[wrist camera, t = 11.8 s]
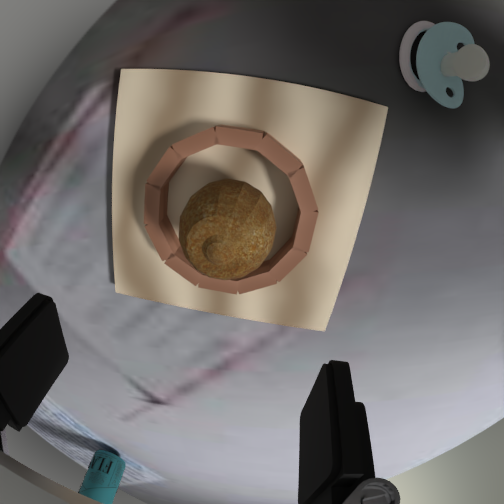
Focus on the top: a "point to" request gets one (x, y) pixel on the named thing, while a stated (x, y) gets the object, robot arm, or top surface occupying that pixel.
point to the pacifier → (442, 60)
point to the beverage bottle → (103, 477)
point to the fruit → (227, 229)
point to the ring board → (243, 169)
